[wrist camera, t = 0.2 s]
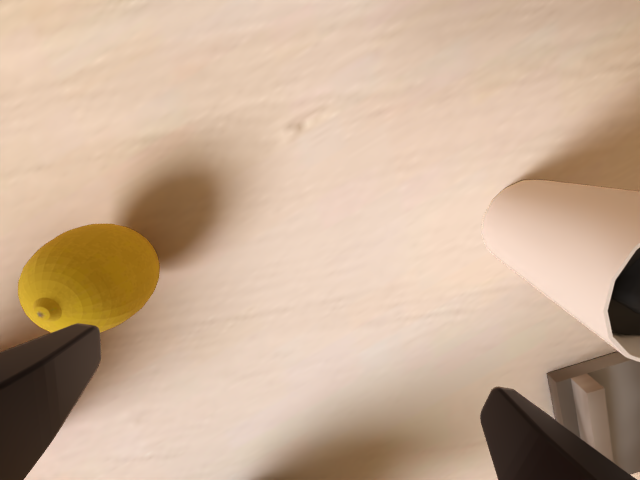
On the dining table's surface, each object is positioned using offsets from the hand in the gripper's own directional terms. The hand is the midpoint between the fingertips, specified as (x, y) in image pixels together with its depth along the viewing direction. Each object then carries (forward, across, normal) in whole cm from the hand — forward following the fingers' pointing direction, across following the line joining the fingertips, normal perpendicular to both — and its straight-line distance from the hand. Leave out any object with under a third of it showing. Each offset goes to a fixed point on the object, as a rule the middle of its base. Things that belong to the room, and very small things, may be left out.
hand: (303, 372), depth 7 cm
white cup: (+15, -14, -2) cm, 20 cm away
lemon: (+14, +11, +5) cm, 19 cm away
